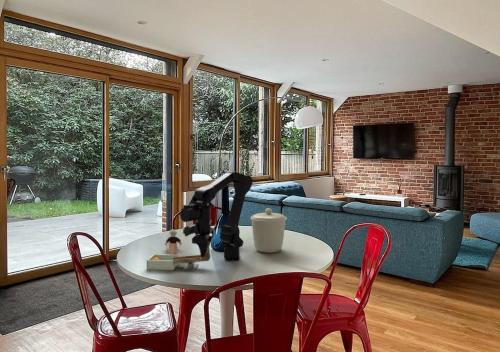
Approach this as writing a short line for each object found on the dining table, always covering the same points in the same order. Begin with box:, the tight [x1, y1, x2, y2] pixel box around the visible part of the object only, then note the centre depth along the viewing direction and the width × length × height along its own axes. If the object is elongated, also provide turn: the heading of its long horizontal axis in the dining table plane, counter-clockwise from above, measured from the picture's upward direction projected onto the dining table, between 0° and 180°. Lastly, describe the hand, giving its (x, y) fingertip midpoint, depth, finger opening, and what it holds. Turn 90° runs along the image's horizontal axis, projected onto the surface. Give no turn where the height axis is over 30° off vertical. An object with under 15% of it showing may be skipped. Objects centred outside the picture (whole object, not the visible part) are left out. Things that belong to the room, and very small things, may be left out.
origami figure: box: [164, 241, 182, 252], centre depth 187 cm, size 12×8×5 cm
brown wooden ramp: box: [172, 245, 211, 265], centre depth 157 cm, size 16×5×6 cm, turn 86°
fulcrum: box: [182, 262, 199, 271], centre depth 157 cm, size 5×6×2 cm
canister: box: [250, 207, 288, 254], centre depth 184 cm, size 18×18×21 cm
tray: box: [146, 253, 180, 271], centre depth 158 cm, size 11×9×4 cm
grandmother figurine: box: [164, 229, 183, 255], centre depth 174 cm, size 8×4×13 cm, turn 105°
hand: (204, 255), depth 157 cm, fingers closed on brown wooden ramp, 4 cm apart
